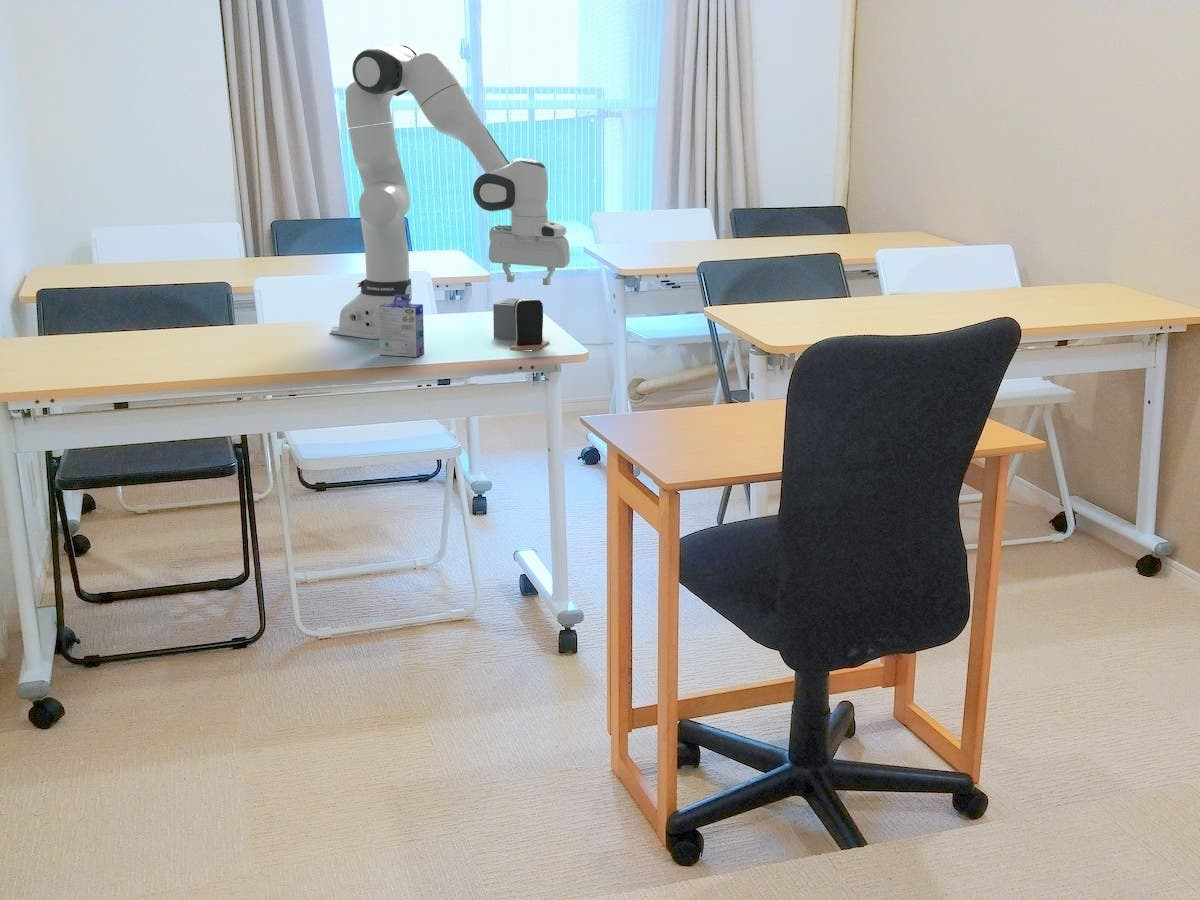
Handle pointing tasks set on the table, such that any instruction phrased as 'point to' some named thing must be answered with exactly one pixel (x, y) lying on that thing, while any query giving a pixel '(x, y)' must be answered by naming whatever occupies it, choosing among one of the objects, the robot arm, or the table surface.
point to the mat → (530, 346)
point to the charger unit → (504, 319)
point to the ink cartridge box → (401, 328)
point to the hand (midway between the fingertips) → (528, 283)
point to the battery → (528, 321)
